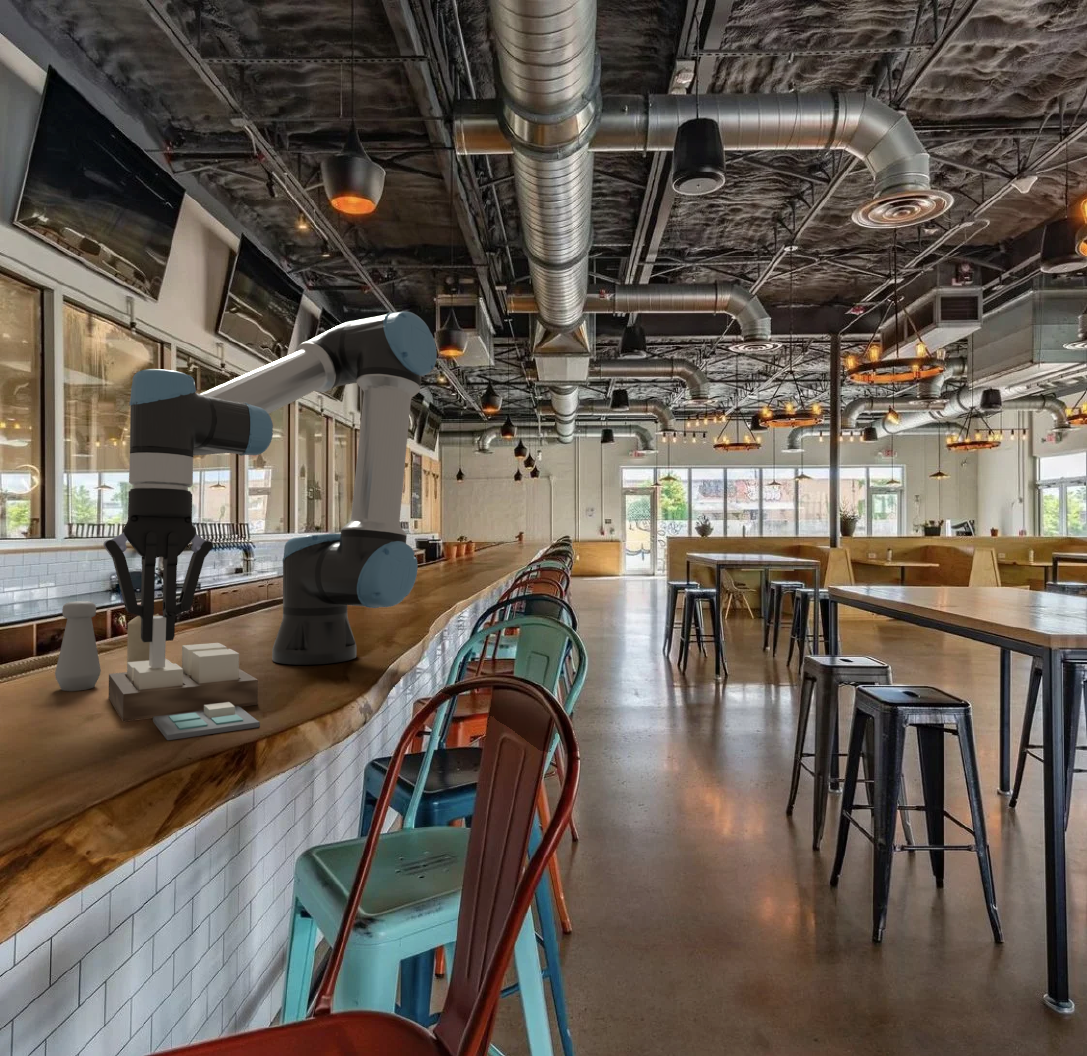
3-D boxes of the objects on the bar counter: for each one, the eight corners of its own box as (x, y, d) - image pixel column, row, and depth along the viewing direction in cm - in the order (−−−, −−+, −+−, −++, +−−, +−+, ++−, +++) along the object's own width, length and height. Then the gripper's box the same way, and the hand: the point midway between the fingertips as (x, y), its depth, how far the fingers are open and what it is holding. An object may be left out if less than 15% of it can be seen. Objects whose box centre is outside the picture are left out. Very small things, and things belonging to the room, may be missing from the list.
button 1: (166, 684, 104) (166, 658, 104) (172, 690, 100) (173, 664, 100) (126, 688, 101) (127, 662, 101) (131, 695, 97) (132, 667, 97)
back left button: (218, 667, 108) (218, 642, 108) (226, 672, 104) (226, 646, 104) (181, 670, 105) (182, 645, 105) (188, 676, 101) (189, 649, 101)
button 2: (175, 690, 98) (175, 663, 98) (182, 697, 94) (182, 668, 94) (133, 694, 95) (134, 667, 95) (139, 702, 91) (139, 673, 91)
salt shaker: (46, 689, 106) (47, 602, 106) (86, 682, 111) (87, 599, 112) (68, 693, 104) (70, 604, 104) (108, 686, 109) (110, 601, 109)
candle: (128, 672, 120) (129, 612, 121) (165, 669, 123) (166, 611, 123) (125, 678, 115) (126, 615, 116) (163, 675, 118) (164, 614, 118)
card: (238, 710, 95) (238, 698, 95) (259, 726, 87) (259, 713, 87) (152, 721, 89) (153, 708, 89) (167, 740, 81) (167, 726, 81)
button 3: (229, 674, 102) (230, 648, 103) (238, 680, 98) (239, 653, 99) (191, 678, 99) (191, 651, 100) (199, 684, 95) (199, 656, 96)
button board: (228, 684, 111) (229, 662, 111) (257, 704, 98) (257, 679, 98) (108, 697, 101) (108, 673, 101) (123, 721, 88) (123, 694, 88)
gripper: (207, 492, 102) (204, 658, 102) (100, 487, 94) (96, 666, 94) (220, 489, 96) (216, 665, 96) (107, 483, 88) (102, 675, 88)
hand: (157, 666), depth 95 cm, fingers closed
